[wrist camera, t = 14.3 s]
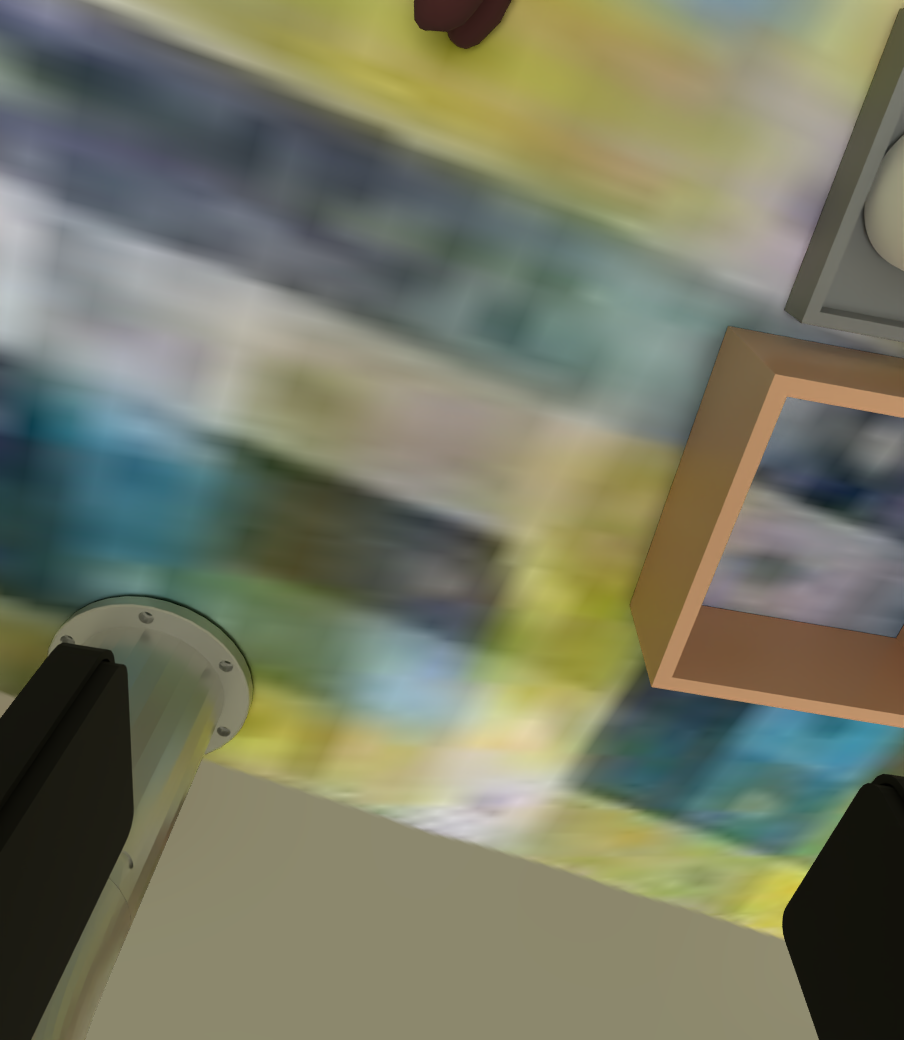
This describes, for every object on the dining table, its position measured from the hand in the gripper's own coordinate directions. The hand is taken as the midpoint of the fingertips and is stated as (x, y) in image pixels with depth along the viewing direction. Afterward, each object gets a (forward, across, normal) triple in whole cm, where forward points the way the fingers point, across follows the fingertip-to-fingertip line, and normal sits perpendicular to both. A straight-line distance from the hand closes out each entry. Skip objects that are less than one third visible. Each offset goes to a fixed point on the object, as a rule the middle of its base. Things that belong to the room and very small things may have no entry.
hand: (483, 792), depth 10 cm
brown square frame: (+30, -20, +8) cm, 37 cm away
